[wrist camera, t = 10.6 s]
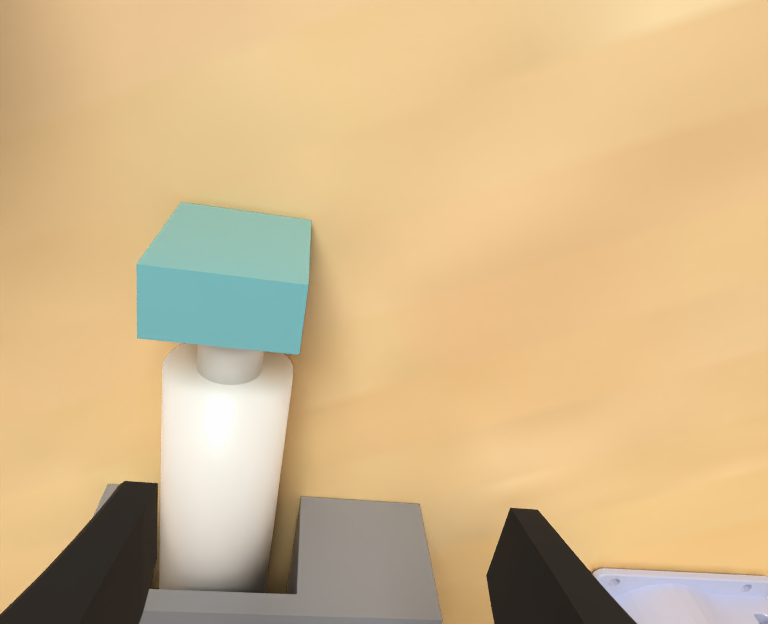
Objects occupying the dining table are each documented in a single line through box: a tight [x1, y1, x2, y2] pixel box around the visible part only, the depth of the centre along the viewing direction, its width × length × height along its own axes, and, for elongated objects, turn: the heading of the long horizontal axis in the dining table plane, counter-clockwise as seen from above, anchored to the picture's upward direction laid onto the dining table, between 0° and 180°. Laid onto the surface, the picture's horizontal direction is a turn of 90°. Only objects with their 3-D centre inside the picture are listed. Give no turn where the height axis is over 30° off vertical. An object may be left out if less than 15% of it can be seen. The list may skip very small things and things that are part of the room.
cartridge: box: [137, 202, 311, 593], centre depth 20 cm, size 4×16×5 cm, turn 170°
